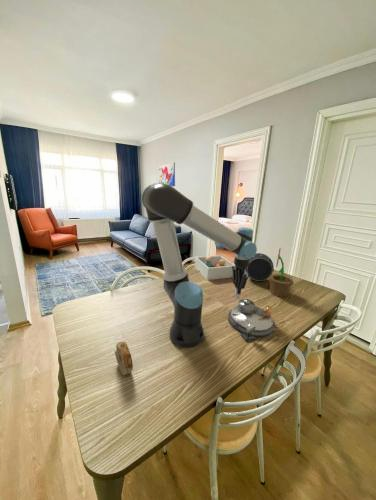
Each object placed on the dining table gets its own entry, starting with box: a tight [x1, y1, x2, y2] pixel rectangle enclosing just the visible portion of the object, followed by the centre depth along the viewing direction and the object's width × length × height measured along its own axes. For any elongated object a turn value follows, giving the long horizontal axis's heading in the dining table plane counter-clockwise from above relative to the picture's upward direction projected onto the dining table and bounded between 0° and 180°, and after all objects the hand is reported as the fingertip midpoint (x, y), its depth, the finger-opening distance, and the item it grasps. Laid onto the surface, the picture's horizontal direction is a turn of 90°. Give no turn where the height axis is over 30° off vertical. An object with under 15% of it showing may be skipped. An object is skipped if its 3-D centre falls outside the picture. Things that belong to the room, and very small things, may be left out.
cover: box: [237, 298, 256, 315], centre depth 107 cm, size 8×8×6 cm
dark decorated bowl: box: [247, 252, 275, 282], centre depth 151 cm, size 11×20×20 cm, turn 78°
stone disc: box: [114, 341, 134, 376], centre depth 73 cm, size 10×4×10 cm, turn 35°
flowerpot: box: [268, 247, 294, 298], centre depth 131 cm, size 14×14×30 cm
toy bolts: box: [204, 256, 226, 268], centre depth 162 cm, size 18×17×12 cm
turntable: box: [230, 305, 274, 332], centre depth 102 cm, size 20×20×6 cm
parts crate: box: [194, 255, 235, 281], centre depth 162 cm, size 23×24×9 cm
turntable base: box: [227, 310, 276, 339], centre depth 104 cm, size 22×22×2 cm
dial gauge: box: [240, 323, 257, 342], centre depth 92 cm, size 5×4×8 cm
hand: (236, 297), depth 115 cm, fingers closed
